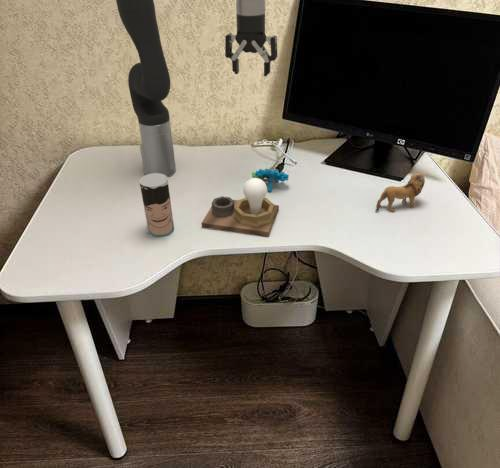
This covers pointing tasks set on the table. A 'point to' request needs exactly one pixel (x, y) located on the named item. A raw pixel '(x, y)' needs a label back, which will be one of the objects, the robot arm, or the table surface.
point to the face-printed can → (157, 204)
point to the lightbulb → (255, 194)
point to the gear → (270, 176)
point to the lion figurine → (403, 192)
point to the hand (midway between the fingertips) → (251, 74)
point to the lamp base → (236, 224)
